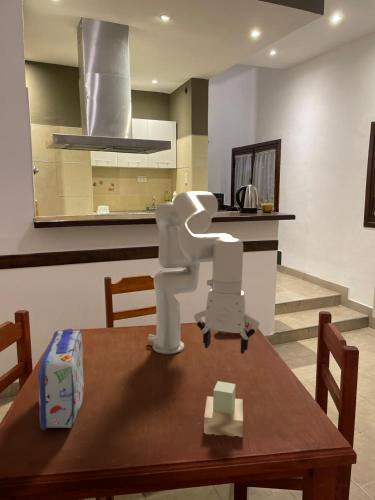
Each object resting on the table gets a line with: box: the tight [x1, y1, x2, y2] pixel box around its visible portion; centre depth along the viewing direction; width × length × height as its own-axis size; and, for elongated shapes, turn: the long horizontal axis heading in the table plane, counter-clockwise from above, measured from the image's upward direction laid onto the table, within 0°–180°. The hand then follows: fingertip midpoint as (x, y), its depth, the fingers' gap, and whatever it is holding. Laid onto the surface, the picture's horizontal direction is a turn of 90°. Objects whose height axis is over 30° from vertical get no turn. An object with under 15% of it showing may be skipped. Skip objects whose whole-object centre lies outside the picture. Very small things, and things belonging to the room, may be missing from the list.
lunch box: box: [37, 328, 85, 431], centre depth 107 cm, size 28×10×22 cm, turn 12°
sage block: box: [212, 380, 237, 415], centre depth 101 cm, size 5×5×6 cm
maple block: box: [203, 395, 244, 438], centre depth 101 cm, size 10×10×5 cm
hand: (225, 348), depth 98 cm, fingers open, 9 cm apart
